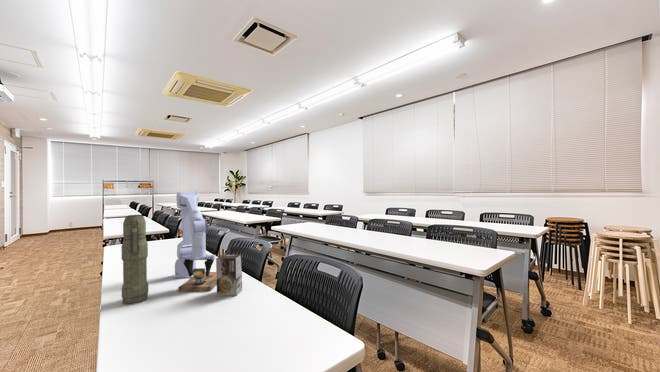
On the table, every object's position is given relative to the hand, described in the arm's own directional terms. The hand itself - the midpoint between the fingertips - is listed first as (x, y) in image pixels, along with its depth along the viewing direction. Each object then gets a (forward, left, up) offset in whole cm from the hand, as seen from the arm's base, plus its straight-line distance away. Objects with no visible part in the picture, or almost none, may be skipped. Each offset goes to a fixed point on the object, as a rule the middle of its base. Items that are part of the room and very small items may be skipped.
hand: (199, 275), depth 126 cm
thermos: (-20, -13, -6) cm, 25 cm away
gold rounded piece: (0, 0, -5) cm, 5 cm away
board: (0, +6, -5) cm, 8 cm away
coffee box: (+16, -7, -6) cm, 19 cm away
